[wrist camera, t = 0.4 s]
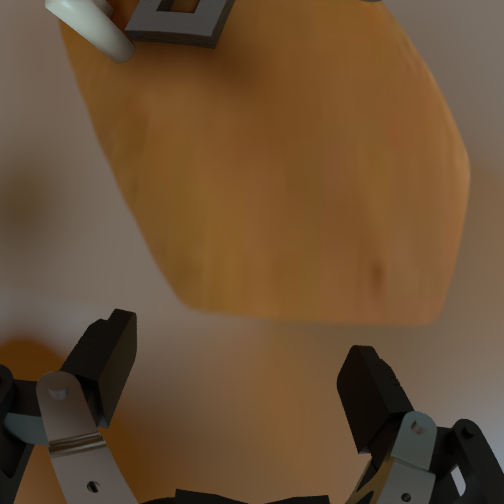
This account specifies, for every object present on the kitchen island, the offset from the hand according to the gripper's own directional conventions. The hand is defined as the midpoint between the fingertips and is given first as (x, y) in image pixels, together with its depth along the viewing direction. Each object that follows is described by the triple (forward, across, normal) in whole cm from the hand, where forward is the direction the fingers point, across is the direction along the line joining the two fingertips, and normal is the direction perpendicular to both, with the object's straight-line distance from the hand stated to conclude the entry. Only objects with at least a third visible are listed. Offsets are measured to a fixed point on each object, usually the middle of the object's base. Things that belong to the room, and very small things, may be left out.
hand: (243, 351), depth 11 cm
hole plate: (+32, +13, -25) cm, 43 cm away
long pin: (+32, +20, -18) cm, 42 cm away
